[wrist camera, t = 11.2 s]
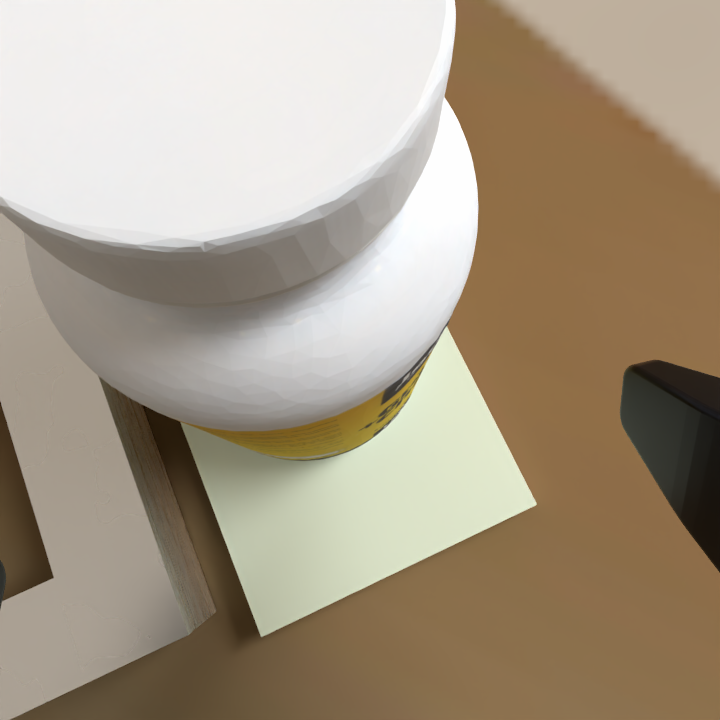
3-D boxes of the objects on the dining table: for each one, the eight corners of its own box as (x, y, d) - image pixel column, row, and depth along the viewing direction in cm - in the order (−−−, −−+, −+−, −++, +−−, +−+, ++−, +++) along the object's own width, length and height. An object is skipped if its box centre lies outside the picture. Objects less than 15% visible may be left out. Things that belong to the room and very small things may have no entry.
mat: (529, 504, 15) (537, 504, 15) (265, 631, 15) (261, 637, 14) (355, 156, 18) (354, 145, 17) (121, 250, 17) (112, 241, 17)
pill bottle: (351, 506, 15) (326, 555, 4) (151, 392, 16) (-397, 135, 4) (458, 304, 16) (687, -124, 5) (269, 208, 17) (86, -360, 6)
